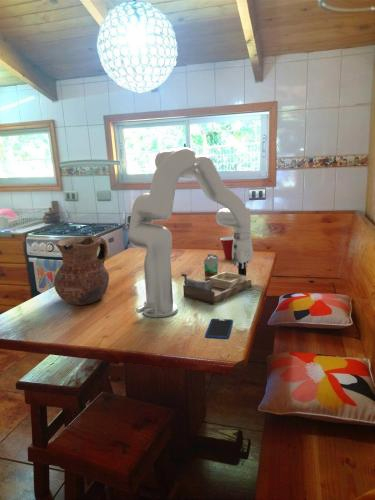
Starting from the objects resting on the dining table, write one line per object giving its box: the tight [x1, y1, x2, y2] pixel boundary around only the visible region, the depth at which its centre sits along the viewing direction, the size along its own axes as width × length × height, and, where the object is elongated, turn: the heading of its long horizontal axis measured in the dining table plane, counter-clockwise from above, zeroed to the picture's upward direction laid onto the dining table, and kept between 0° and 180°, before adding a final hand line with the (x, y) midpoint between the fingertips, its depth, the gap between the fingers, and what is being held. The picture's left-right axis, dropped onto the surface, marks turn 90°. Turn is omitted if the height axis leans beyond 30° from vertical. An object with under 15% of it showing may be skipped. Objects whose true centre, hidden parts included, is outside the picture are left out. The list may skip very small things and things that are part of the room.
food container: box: [203, 253, 220, 281], centre depth 168 cm, size 12×6×10 cm, turn 168°
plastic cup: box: [219, 236, 233, 260], centre depth 203 cm, size 11×11×12 cm
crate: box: [209, 271, 247, 289], centre depth 152 cm, size 11×11×4 cm
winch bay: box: [181, 273, 252, 306], centre depth 147 cm, size 27×16×10 cm, turn 137°
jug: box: [53, 235, 110, 306], centre depth 144 cm, size 22×21×25 cm
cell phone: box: [204, 318, 234, 340], centre depth 114 cm, size 7×14×1 cm, turn 167°
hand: (242, 276), depth 160 cm, fingers closed
